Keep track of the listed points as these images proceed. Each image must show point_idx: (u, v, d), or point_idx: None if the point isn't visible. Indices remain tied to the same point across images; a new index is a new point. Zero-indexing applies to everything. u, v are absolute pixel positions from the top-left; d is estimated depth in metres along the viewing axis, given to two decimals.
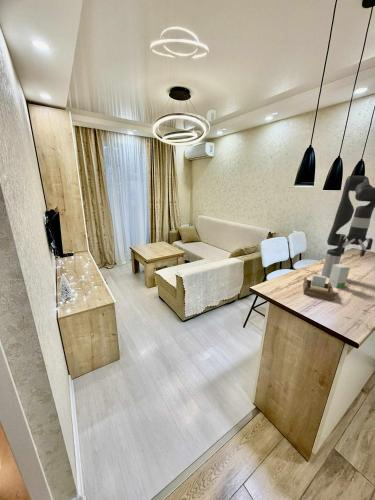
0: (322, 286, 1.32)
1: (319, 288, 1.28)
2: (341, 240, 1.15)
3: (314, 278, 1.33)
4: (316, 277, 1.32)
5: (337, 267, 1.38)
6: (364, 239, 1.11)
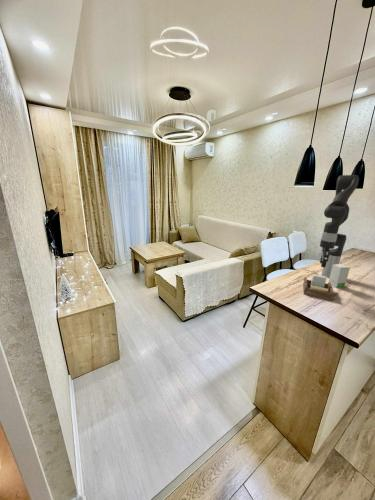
0: (322, 286, 1.32)
1: (319, 288, 1.28)
2: (328, 256, 1.22)
3: (314, 278, 1.33)
4: (316, 277, 1.32)
5: (337, 267, 1.38)
6: None
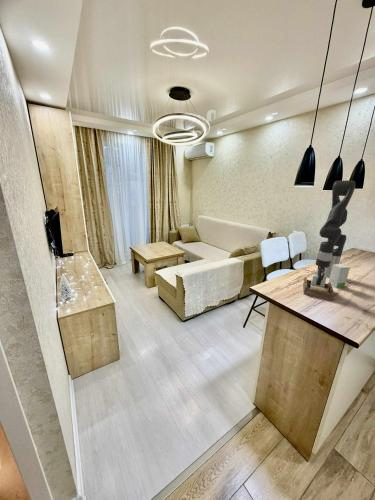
0: (322, 286, 1.32)
1: (319, 288, 1.28)
2: (323, 276, 1.27)
3: (314, 278, 1.33)
4: (316, 277, 1.32)
5: (337, 267, 1.38)
6: None
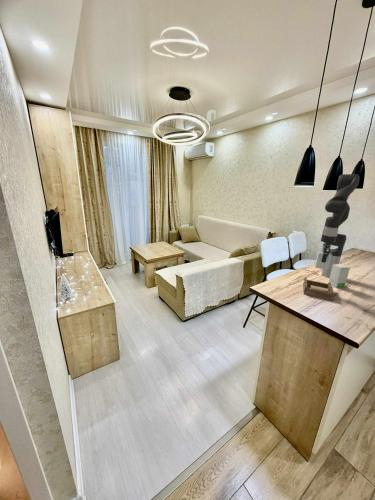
0: (328, 263, 1.29)
1: (319, 288, 1.28)
2: (329, 252, 1.24)
3: (319, 255, 1.30)
4: (321, 254, 1.29)
5: (337, 267, 1.38)
6: None
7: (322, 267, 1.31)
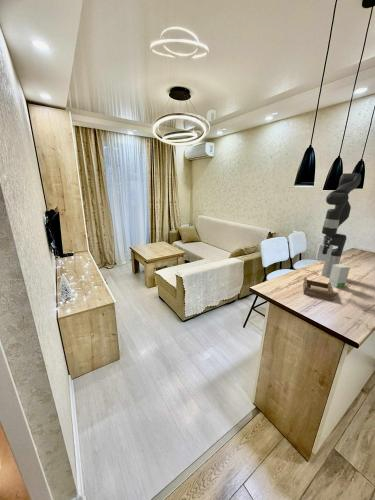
0: (328, 255, 1.30)
1: (319, 288, 1.28)
2: (330, 244, 1.25)
3: (320, 247, 1.31)
4: (322, 246, 1.30)
5: (337, 267, 1.38)
6: None
7: (323, 259, 1.32)
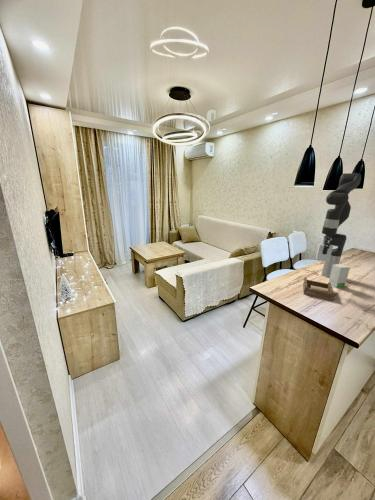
0: (328, 255, 1.30)
1: (319, 288, 1.28)
2: (330, 244, 1.25)
3: (320, 247, 1.31)
4: (322, 246, 1.30)
5: (337, 267, 1.38)
6: None
7: (323, 259, 1.32)
